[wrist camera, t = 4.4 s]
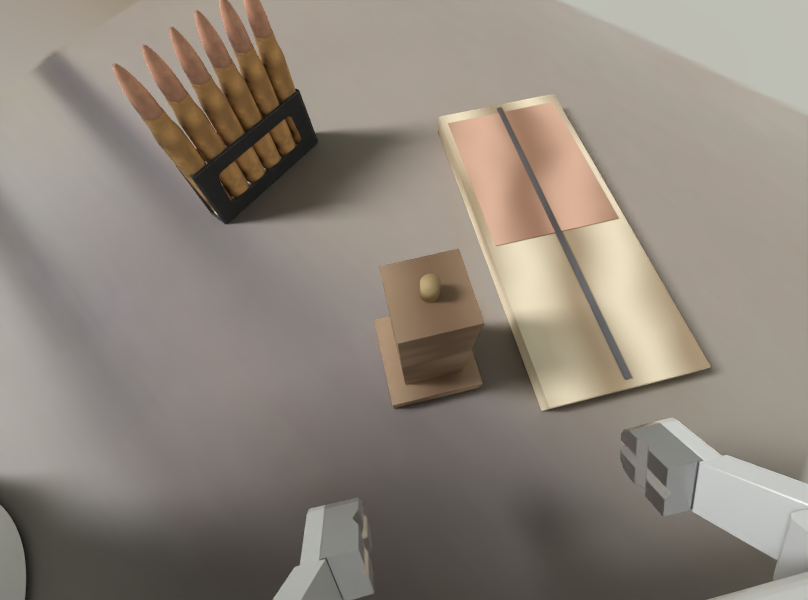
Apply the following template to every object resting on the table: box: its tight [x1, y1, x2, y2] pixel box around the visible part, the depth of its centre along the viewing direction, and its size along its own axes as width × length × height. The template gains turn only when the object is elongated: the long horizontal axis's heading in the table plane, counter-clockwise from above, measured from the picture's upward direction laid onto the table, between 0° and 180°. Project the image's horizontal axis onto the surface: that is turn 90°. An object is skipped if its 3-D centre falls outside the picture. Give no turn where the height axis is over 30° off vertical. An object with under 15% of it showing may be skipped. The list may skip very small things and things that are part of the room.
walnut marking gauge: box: [374, 249, 484, 409], centre depth 19 cm, size 6×6×11 cm
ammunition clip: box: [113, 0, 318, 224], centre depth 25 cm, size 11×2×12 cm, turn 142°
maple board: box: [438, 94, 711, 411], centre depth 27 cm, size 10×24×2 cm, turn 13°
